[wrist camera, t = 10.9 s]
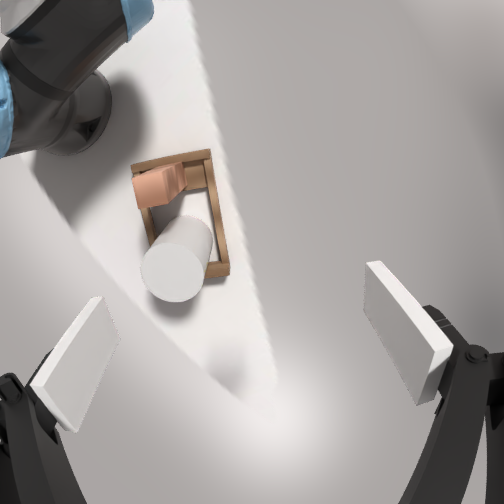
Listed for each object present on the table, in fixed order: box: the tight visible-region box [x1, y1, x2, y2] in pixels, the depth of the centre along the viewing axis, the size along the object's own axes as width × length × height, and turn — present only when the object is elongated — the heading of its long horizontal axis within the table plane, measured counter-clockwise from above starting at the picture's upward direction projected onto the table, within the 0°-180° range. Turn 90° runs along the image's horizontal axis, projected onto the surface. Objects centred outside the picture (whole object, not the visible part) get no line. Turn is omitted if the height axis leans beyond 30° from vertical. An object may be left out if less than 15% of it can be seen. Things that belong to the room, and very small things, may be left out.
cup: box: [140, 215, 213, 302], centre depth 42 cm, size 8×8×12 cm
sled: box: [131, 149, 230, 279], centre depth 40 cm, size 19×12×13 cm, turn 8°
